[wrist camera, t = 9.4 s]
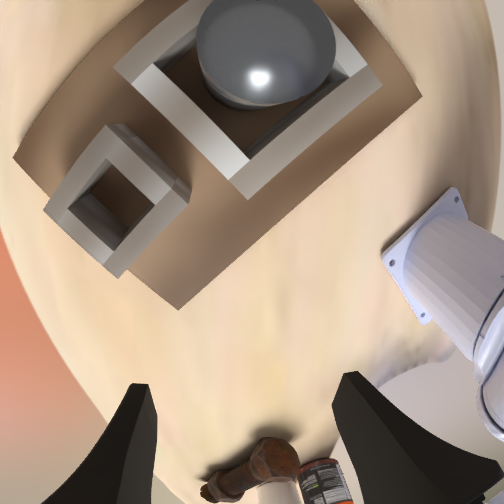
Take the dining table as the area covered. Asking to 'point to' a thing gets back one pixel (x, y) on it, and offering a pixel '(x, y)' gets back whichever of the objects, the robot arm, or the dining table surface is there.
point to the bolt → (254, 471)
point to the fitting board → (197, 145)
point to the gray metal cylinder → (263, 51)
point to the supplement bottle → (323, 483)
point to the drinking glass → (278, 493)
